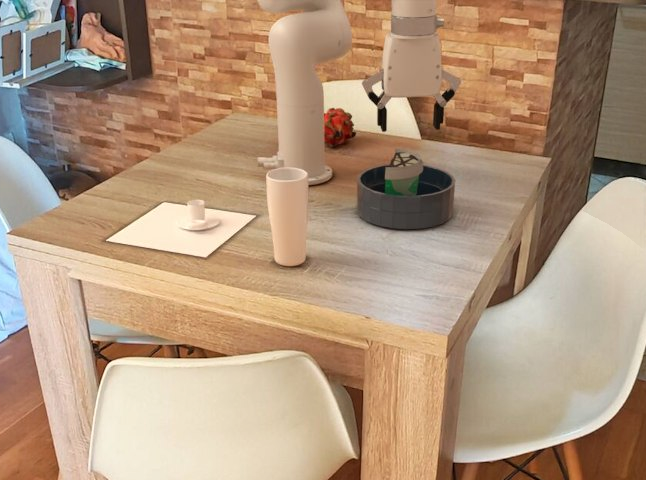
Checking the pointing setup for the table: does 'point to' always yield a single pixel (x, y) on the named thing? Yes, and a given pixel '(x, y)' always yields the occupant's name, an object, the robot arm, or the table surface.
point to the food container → (403, 173)
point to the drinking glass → (288, 213)
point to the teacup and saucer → (183, 228)
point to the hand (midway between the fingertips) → (410, 128)
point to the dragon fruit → (337, 127)
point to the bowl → (406, 199)
